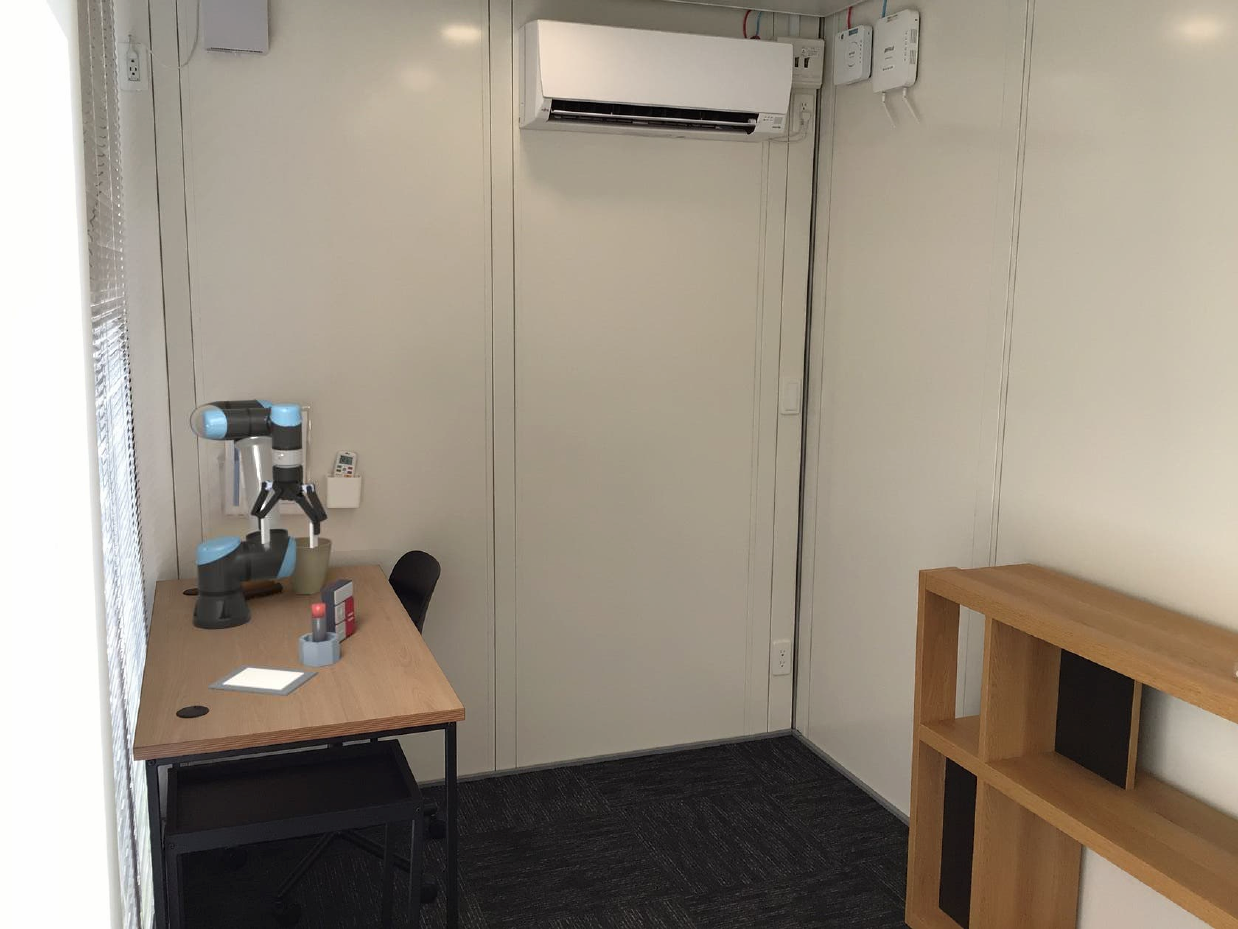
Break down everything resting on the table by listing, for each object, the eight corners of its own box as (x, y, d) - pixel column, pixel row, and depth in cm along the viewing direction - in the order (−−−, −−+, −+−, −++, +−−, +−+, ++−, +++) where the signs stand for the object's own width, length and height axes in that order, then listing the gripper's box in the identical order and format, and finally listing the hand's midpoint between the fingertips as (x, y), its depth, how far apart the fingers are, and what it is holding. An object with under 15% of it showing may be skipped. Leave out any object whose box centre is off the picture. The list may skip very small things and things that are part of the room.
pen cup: (294, 664, 258) (293, 641, 257) (311, 653, 267) (311, 630, 266) (327, 668, 256) (327, 644, 255) (344, 656, 265) (343, 633, 264)
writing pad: (208, 688, 242) (208, 685, 242) (243, 666, 256) (243, 664, 256) (286, 695, 238) (286, 693, 238) (318, 673, 252) (317, 671, 252)
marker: (310, 659, 260) (308, 605, 258) (317, 655, 263) (315, 602, 261) (322, 660, 259) (320, 607, 257) (329, 656, 262) (328, 603, 260)
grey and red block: (337, 645, 273) (336, 590, 270) (322, 644, 273) (320, 589, 271) (356, 632, 283) (354, 579, 281) (341, 631, 284) (340, 578, 282)
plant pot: (316, 600, 313) (314, 549, 310) (273, 595, 317) (271, 545, 314) (342, 587, 327) (341, 538, 325) (301, 583, 331) (299, 534, 329)
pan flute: (205, 611, 303) (283, 594, 321) (204, 599, 302) (282, 583, 320) (167, 594, 319) (243, 578, 338) (166, 583, 319) (243, 568, 337)
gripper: (235, 463, 264) (238, 544, 268) (326, 470, 259) (327, 552, 263) (250, 458, 271) (253, 537, 275) (339, 465, 267) (340, 544, 271)
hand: (289, 544), depth 269 cm, fingers open, 13 cm apart
